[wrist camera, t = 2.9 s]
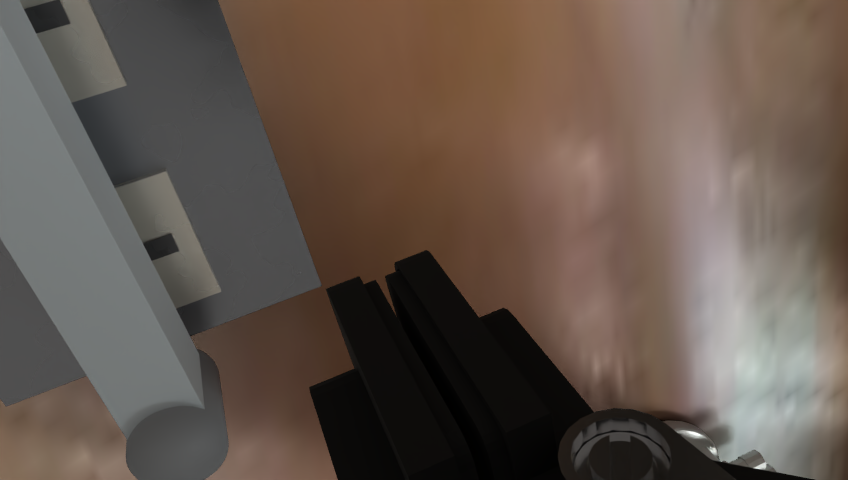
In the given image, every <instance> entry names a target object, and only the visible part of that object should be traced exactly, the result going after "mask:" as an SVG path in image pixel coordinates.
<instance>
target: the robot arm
mask: <svg viewBox="0 0 848 480" xmlns="http://www.w3.org/2000/svg"><path fill="white" fill-rule="evenodd" d="M395 270H396V272H394V273H392V274H389V275H387V276H386V277H385V278H386V282H387V286H388V289H389V292H390V296H391V299H392V302H393V306H394V309H395V312H396V315H397V317H396V315H395V313H394V312H393V310H392V308H391V306H390V304H389V303H388V301H387V299H386V297H385V296H384V294H383V292H382V290H381V289H380V287H379V285H378V283H377V282H376V280H374V281H371V282H369V283H366V284H363V282H362V280H361V278H360V277H359V276H358V277H356V278H353V279H351V280H348V281H345V282H343V283H340V284H338V285H335V286H332V287H330V288H327V289H326V291H327V294H328V297H329V299H330V302H331V305H332V308H333V310H334V313H335V316H336V319H337V322H338V324H339V327H340V330H341V333H342V335H343V338H344V341H345V344H346V346H347V349H348V352H349V355H350V357H351V360H352V363H353V366H354V369H353V370H350V371H348V372H345V373H343V374H341V375H338V376H336V377H333V378H331V379H328V380H326V381H323V382H321V383H319V384H316V385H314V386H311V387H309V389H310V393H311V396H312V399H313V403H314V406H315V409H316V412H317V415H318V418H319V422H320V425H321V428H322V431H323V434H324V437H325V441H326V444H327V447H328V450H329V453H330V456H331V460H332V463H333V466H334V469H335V472H336V475H337V479H338V480H814V479H809V478H803V477H798V476H793V475H788V474H782V473H777V472H776V471H775V470H774V468H773V467H771V466H770V465H769V464H766V462H765V460H764V458H763V456H762V455H761V454H760V453H759V452H758V451H756V450H752V451H750V452H748V453H746V454H744V455H742V456H740V457H738V459H736V460H734V461H732V462H730V463H728V462H726V461H722V462H721V461H720V459H719V454H718V450H717V448H716V446H715V444H714V443H713V441H712V440H711V439H710V438H709V437H708V436H707V435H706V434H705V433H704V432H703V431H702V430H701V429H699V428H698V427H696V426H695V425H693V424H690V423H686V422H683V421H670V420H669V421H661V420H659V419H657V418H656V417H654V416H652V415H650V414H647V413H643V412H640V411H636V410H633V409H617V408H613V409H608V410H602V411H596V412H593V411H592V409H591V408H590V407H589V406H588V405H587V403H586V402H585V401H584V400H583V399H582V397H581V396H580V395H579V394H578V393H577V391H576V390H575V389H574V388H573V387H572V385H571V384H570V383H569V382H568V381H567V379H566V378H565V377H564V376H563V375H562V373H561V372H560V371H559V370H558V369H557V367H556V366H555V365H554V364H553V363H552V361H551V360H550V359H549V358H548V357H547V355H546V354H545V353H544V352H543V351H542V349H541V348H540V347H539V346H538V345H537V343H536V342H535V341H534V340H533V339H532V337H531V336H530V335H529V334H528V333H527V331H526V330H525V329H524V328H523V327H522V325H521V324H520V323H519V322H518V321H517V319H516V318H515V317H514V316H513V315H512V314H511V313H510V312H509V311H508V310H507V309H505V308H502V309H499V310H497V311H494V312H492V313H489V314H487V315H485V316H482V317H480V318H479V317H478V316H477V314H476V313H475V312H474V310H473V309H472V308H471V306H470V305H469V304H468V302H467V301H466V300H465V298H464V297H463V296H462V294H461V293H460V292H459V290H458V289H457V288H456V286H455V285H454V284H453V282H452V281H451V280H450V279H449V277H448V276H447V275H446V273H445V272H444V271H443V269H442V268H441V267H440V265H439V264H438V263H437V261H436V260H435V259H434V257H433V256H432V255H431V253H430V252H429V251H427V250H426V251H423V252H421V253H418V254H416V255H413V256H410V257H408V258H405V259H403V260H400V261H397V262H395Z"/></svg>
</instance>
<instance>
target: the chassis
mask: <svg viewBox="0 0 848 480" xmlns="http://www.w3.org/2000/svg"><path fill="white" fill-rule="evenodd" d="M19 1H20V3H21V5H22V7H23V9H24V11H25V13H26V15H27V17H28V19H29V21H30V22H31V24H32V26H33V28H34V30H35V32H36V34H37V36H38V38H39V40H40V42H41V44H42V46H43V48H44V50H45V52H46V54H47V56H48V58H49V60H50V62H51V64H52V66H53V68H54V70H55V72H56V74H57V76H58V78H59V80H60V82H61V84H62V85H63V87H64V89H65V91H66V93H67V95H68V97H69V99H70V101H71V103H72V105H73V107H74V109H75V111H76V113H77V115H78V117H79V119H80V121H81V123H82V125H83V127H84V129H85V131H86V133H87V135H88V137H89V139H90V141H91V143H92V145H93V147H94V148H95V150H96V152H97V154H98V156H99V158H100V160H101V162H102V164H103V166H104V168H105V170H106V172H107V174H108V176H109V178H110V180H111V182H112V184H113V186H114V188H115V190H116V192H117V194H118V196H119V198H120V200H121V202H122V204H123V206H124V208H125V209H126V211H127V213H128V215H129V217H130V219H131V221H132V223H133V225H134V227H135V229H136V231H137V233H138V235H139V237H140V239H141V241H142V243H143V245H144V247H145V249H146V251H147V253H148V255H149V257H150V259H151V261H152V263H153V265H154V267H155V269H156V271H157V272H158V274H159V276H160V278H161V280H162V282H163V284H164V286H165V288H166V290H167V292H168V294H169V296H170V298H171V300H172V302H173V304H174V306H175V308H176V310H177V312H178V314H179V316H180V318H181V320H182V322H183V324H184V326H185V328H186V330H187V332H188V334H189V335H190V336H192V335H195V334H197V333H200V332H202V331H205V330H208V329H210V328H213V327H216V326H218V325H221V324H223V323H226V322H229V321H231V320H234V319H237V318H239V317H242V316H244V315H247V314H250V313H252V312H255V311H257V310H260V309H263V308H265V307H268V306H271V305H273V304H276V303H278V302H281V301H284V300H286V299H289V298H291V297H294V296H297V295H299V294H302V293H305V292H307V291H310V290H312V289H315V288H318V287H320V286H322V285H321V282H320V279H319V277H318V274H317V271H316V269H315V266H314V263H313V260H312V258H311V255H310V252H309V249H308V247H307V244H306V241H305V238H304V236H303V233H302V230H301V227H300V225H299V222H298V219H297V216H296V214H295V211H294V208H293V205H292V203H291V200H290V197H289V194H288V192H287V189H286V186H285V183H284V181H283V178H282V175H281V172H280V170H279V167H278V164H277V162H276V159H275V156H274V153H273V151H272V148H271V145H270V142H269V140H268V137H267V134H266V131H265V129H264V126H263V123H262V120H261V118H260V115H259V112H258V109H257V107H256V104H255V101H254V98H253V96H252V93H251V90H250V87H249V85H248V82H247V79H246V76H245V74H244V71H243V68H242V65H241V63H240V60H239V57H238V55H237V52H236V49H235V46H234V44H233V41H232V38H231V35H230V33H229V30H228V27H227V24H226V22H225V19H224V16H223V13H222V11H221V8H220V5H219V2H218V0H19ZM85 376H87V375H86V374H85V372H84V370H83V369H82V367H81V366H80V364H79V362H78V361H77V359H76V358H75V356H74V355H73V353H72V351H71V350H70V348H69V347H68V345H67V343H66V342H65V340H64V339H63V337H62V335H61V334H60V332H59V331H58V329H57V328H56V326H55V324H54V323H53V321H52V320H51V318H50V316H49V315H48V313H47V312H46V310H45V309H44V307H43V305H42V304H41V302H40V301H39V299H38V297H37V296H36V294H35V293H34V291H33V289H32V288H31V286H30V285H29V283H28V282H27V280H26V278H25V277H24V275H23V274H22V272H21V270H20V269H19V267H18V266H17V264H16V262H15V261H14V259H13V258H12V256H11V255H10V253H9V251H8V250H7V248H6V247H5V245H4V243H3V242H2V240H1V239H0V399H1V400H2V402H3V403H4V404H5V406H9V405H11V404H14V403H17V402H19V401H22V400H24V399H27V398H30V397H32V396H35V395H37V394H40V393H43V392H45V391H48V390H51V389H53V388H56V387H58V386H61V385H64V384H66V383H69V382H72V381H74V380H77V379H79V378H82V377H85Z"/></svg>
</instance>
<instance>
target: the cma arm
mask: <svg viewBox="0 0 848 480" xmlns="http://www.w3.org/2000/svg"><path fill="white" fill-rule="evenodd" d="M0 239H1V240H2V242H3V243H4V245H5V247H6V248H7V250H8V251H9V253H10V255H11V256H12V258H13V259H14V261H15V262H16V264H17V266H18V267H19V269H20V270H21V272H22V274H23V275H24V277H25V278H26V280H27V282H28V283H29V285H30V286H31V288H32V289H33V291H34V293H35V294H36V296H37V297H38V299H39V301H40V302H41V304H42V305H43V307H44V309H45V310H46V312H47V313H48V315H49V316H50V318H51V320H52V321H53V323H54V324H55V326H56V328H57V329H58V331H59V332H60V334H61V335H62V337H63V339H64V340H65V342H66V343H67V345H68V347H69V348H70V350H71V351H72V353H73V355H74V356H75V358H76V359H77V361H78V362H79V364H80V366H81V367H82V369H83V370H84V372H85V374H86V375H87V377H88V378H89V380H90V382H91V383H92V385H93V386H94V388H95V389H96V391H97V393H98V394H99V396H100V397H101V399H102V401H103V402H104V404H105V405H106V407H107V409H108V410H109V412H110V413H111V415H112V416H113V418H114V420H115V421H116V423H117V424H118V426H119V428H120V429H121V431H122V432H123V434H124V435H125V437H126V439H127V443H126V462H127V465H128V468H129V470H130V471H131V473H132V474H133V475H134V476H135V477H136V478H137V479H138V480H204V479H206V478H208V477H209V476H210V475H212V474H213V473H214V472H215V471H216V470H217V469H218V468H219V467H220V466H221V465H222V463H223V461H224V460H225V458H226V455H227V452H228V446H229V445H228V435H227V428H226V421H225V413H224V406H223V399H222V392H221V384H220V377H219V371H218V368H217V365H216V364H215V362H214V361H213V360H212V358H211V357H210V356H208V355H207V354H206V353H204V352H203V351H200V350H198V349H196V347H195V345H194V343H193V341H192V339H191V337H190V335H189V334H188V332H187V330H186V328H185V326H184V324H183V322H182V320H181V318H180V316H179V314H178V312H177V310H176V308H175V306H174V304H173V302H172V300H171V298H170V296H169V294H168V292H167V290H166V288H165V286H164V284H163V282H162V280H161V278H160V276H159V274H158V272H157V271H156V269H155V267H154V265H153V263H152V261H151V259H150V257H149V255H148V253H147V251H146V249H145V247H144V245H143V243H142V241H141V239H140V237H139V235H138V233H137V231H136V229H135V227H134V225H133V223H132V221H131V219H130V217H129V215H128V213H127V211H126V209H125V208H124V206H123V204H122V202H121V200H120V198H119V196H118V194H117V192H116V190H115V188H114V186H113V184H112V182H111V180H110V178H109V176H108V174H107V172H106V170H105V168H104V166H103V164H102V162H101V160H100V158H99V156H98V154H97V152H96V150H95V148H94V147H93V145H92V143H91V141H90V139H89V137H88V135H87V133H86V131H85V129H84V127H83V125H82V123H81V121H80V119H79V117H78V115H77V113H76V111H75V109H74V107H73V105H72V103H71V101H70V99H69V97H68V95H67V93H66V91H65V89H64V87H63V85H62V84H61V82H60V80H59V78H58V76H57V74H56V72H55V70H54V68H53V66H52V64H51V62H50V60H49V58H48V56H47V54H46V52H45V50H44V48H43V46H42V44H41V42H40V40H39V38H38V36H37V34H36V32H35V30H34V28H33V26H32V24H31V22H30V21H29V19H28V17H27V15H26V13H25V11H24V9H23V7H22V5H21V3H20V1H19V0H0Z"/></svg>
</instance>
